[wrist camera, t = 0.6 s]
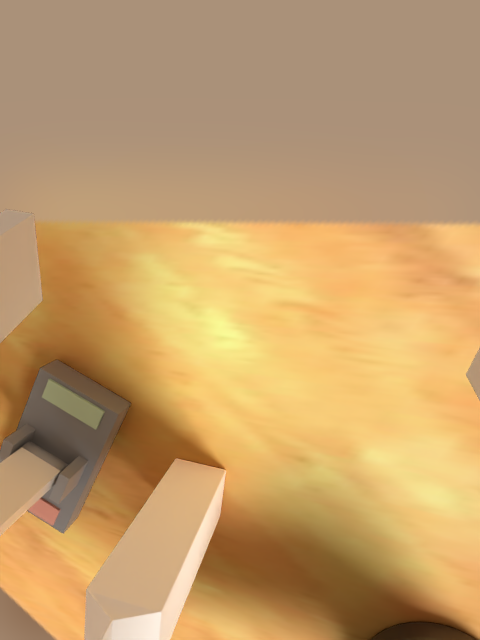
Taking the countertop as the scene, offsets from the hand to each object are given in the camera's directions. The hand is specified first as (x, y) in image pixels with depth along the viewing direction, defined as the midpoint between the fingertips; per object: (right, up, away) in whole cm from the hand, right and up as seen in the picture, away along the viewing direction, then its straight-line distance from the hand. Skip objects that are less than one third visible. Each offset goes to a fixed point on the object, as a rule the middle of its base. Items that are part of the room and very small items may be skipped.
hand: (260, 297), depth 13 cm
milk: (-5, -19, +39) cm, 44 cm away
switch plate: (-21, -15, +41) cm, 49 cm away
